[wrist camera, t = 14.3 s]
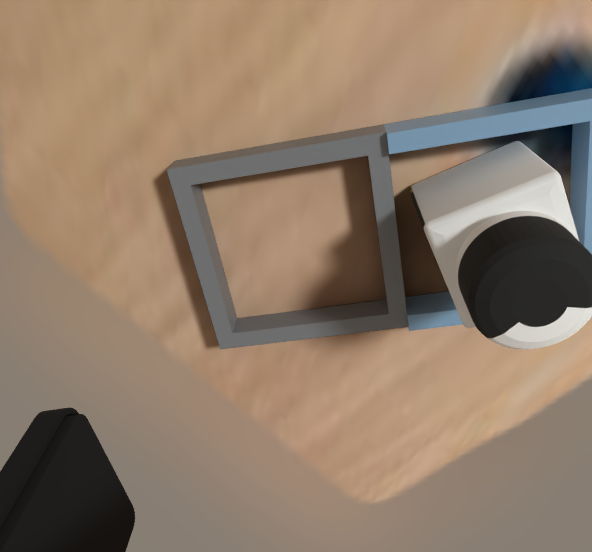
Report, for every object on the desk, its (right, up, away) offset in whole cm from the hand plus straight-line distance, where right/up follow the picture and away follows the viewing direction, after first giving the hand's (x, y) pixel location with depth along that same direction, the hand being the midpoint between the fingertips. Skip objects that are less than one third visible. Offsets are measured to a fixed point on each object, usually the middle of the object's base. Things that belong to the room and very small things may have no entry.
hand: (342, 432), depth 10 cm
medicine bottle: (+11, +7, +26) cm, 29 cm away
